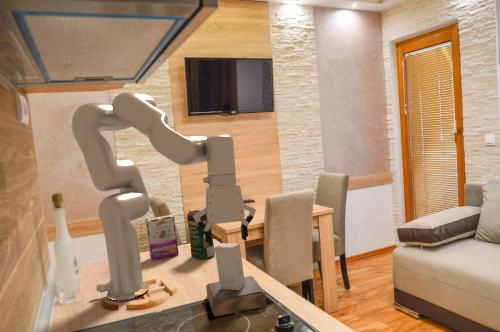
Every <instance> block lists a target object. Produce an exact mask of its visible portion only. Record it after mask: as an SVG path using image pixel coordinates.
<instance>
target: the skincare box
mask: <svg viewBox="0 0 500 332" xmlns="http://www.w3.org/2000/svg"><path fill="white" fill-rule="evenodd" d="M214 249H215V260H216V266H217V267H216V268H217V273H218V282H219V283H220V289H229V290H240V289H241V288H243V287H244V286H245V280H244V277H245V273H244V267H243V259H242V251H241V244H240V243H233V242H232V243H224V242H221V243H220V244H218V245H216V246H214Z"/></svg>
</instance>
